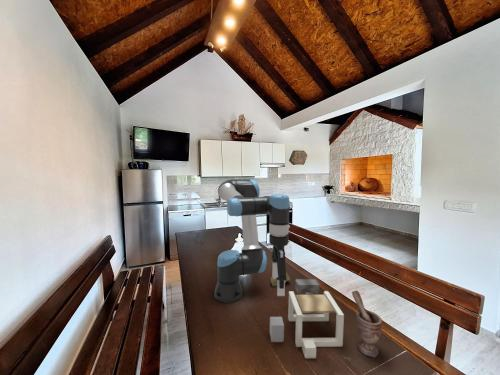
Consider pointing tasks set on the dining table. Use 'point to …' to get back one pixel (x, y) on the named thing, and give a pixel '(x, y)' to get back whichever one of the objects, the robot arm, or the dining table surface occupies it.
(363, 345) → the mortar and pestle
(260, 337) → the dining table surface
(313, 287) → the trapdoor
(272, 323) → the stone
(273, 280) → the rock
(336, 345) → the frame
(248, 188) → the robot arm
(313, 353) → the pumice block
